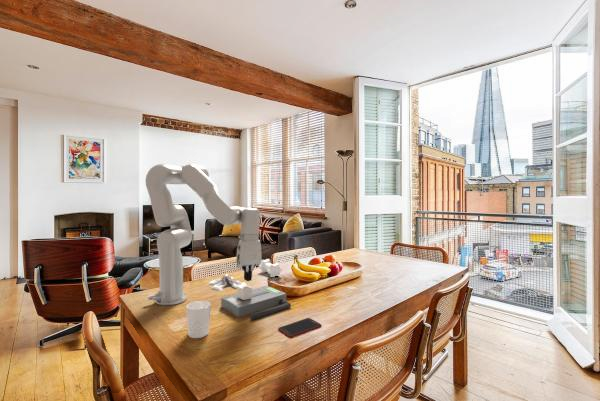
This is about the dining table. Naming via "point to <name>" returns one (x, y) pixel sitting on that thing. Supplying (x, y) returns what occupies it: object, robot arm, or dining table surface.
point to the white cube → (244, 292)
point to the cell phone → (299, 327)
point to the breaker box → (253, 301)
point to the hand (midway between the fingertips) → (247, 280)
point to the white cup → (198, 318)
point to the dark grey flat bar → (271, 310)
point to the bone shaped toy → (270, 268)
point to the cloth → (225, 283)
